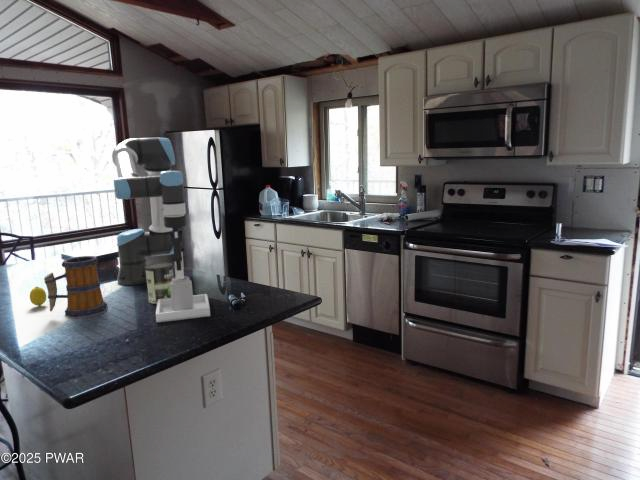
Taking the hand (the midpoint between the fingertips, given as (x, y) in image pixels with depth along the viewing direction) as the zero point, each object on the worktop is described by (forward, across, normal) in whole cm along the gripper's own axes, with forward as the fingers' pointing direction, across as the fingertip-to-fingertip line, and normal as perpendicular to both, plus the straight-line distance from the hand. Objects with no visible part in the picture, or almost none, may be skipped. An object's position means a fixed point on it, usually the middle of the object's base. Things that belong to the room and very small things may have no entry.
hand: (180, 274), depth 173 cm
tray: (+14, +1, 0) cm, 14 cm away
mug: (+14, -12, -37) cm, 42 cm away
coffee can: (+14, -17, -8) cm, 24 cm away
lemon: (+15, -27, -54) cm, 62 cm away
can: (+14, 0, 0) cm, 14 cm away
